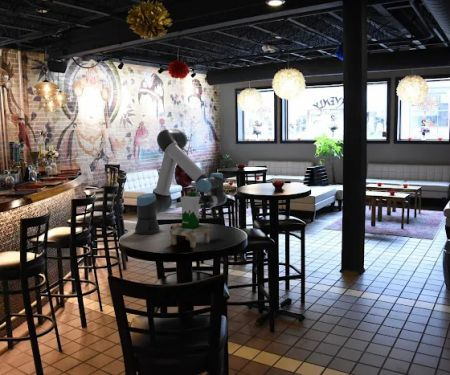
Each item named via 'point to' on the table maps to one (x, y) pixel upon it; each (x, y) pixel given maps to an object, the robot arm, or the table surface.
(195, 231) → the stool
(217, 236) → the table surface
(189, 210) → the milk carton
